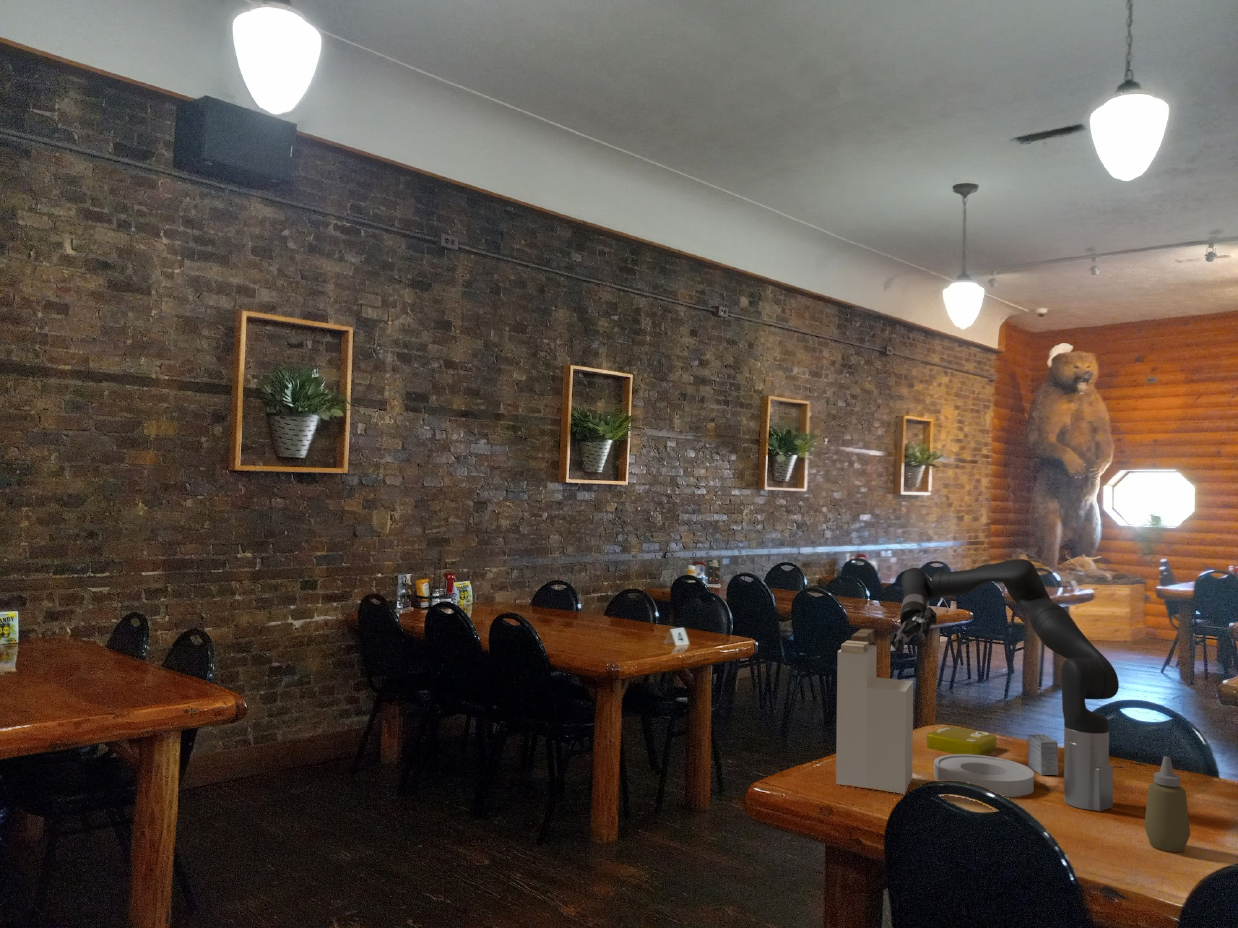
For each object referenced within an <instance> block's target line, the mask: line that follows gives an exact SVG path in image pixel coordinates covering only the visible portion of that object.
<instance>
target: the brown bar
mask: <svg viewBox="0 0 1238 928" xmlns="http://www.w3.org/2000/svg"><path fill="white" fill-rule="evenodd" d="M850 638H851V639H850V640H846V641H845V642H843V643H841V645H840V649H841V652H845V653H857V654H864V653H865V652H866V651H867V650H868V646H869V645H872V643H874V642H875V628H874V629H873V628H861V629H859V630H858V631H856V632H855V633H853V634H852V635H851V636H850Z"/></svg>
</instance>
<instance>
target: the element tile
mask: <svg viewBox="0 0 1238 928" xmlns="http://www.w3.org/2000/svg"><path fill="white" fill-rule="evenodd" d="M926 735H927V737H926V739H927V740H926V741H927V743H926V744H927V746H926V747H927V748H928V749H929V750H933V751H938V752H944V753H948V754H951V755H955V754H970V755H982V756H987V755H989V754H991V753H993V752H996V751H997V735H996V734H994V733H989V732H986V731H979V730H974V729H968V728H963V727H957V726H952V725H947V726H944V727H940V728H938V729H935V730H932V731H931V732H928V733H927V734H926Z"/></svg>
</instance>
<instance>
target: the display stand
mask: <svg viewBox="0 0 1238 928" xmlns="http://www.w3.org/2000/svg"><path fill="white" fill-rule="evenodd" d="M877 653H878V651H877V645H873V644H870V645H869V646H868V650H867V651H866V652H865V653H864V654H857V653H845V652H841V648H840V649H838V650H837V659H836V660H837V661H836V662H837V663H836V664H837V665H836V667H837V669H836V670H837V671H836V673H837V674H836V675H837V676H836V677H837V679H836V681H837V682H836V688H837V689H836V743H835V744H836V748H835V749H836V754H835V755H836V758H835V759H836V761H835V785H836V784H842V785H852V786H857V787H865V788H873V789H878V790H885V791H889V792H897V793H901V794H900V795H902V793H903V796H905V795H906V794H905V793H907V791H908V789H909V787H908V785H909V784H910V785H911V782H912V780H913V761H914V760H913V759H914V758H913V756H914V755H913V753H914V751H913V750H914V749H913V746H914V745H913V743H914V740H913V739H914V680H909V679H908V680H906V679H896V678H886V677H877V662H878V661H877ZM911 779H912V780H911ZM910 781H911V782H910ZM910 785H909V786H910ZM907 788H908V789H907Z"/></svg>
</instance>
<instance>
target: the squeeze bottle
mask: <svg viewBox="0 0 1238 928" xmlns="http://www.w3.org/2000/svg"><path fill="white" fill-rule="evenodd" d="M1172 764H1173V763H1172V760H1171V757H1170V756H1165V755H1164V756H1163V757H1162V763H1161V766H1160V769H1159V771H1157V772H1154V773H1153V782H1152V783H1150V784H1148V790H1147V791H1148V792H1147V798H1146V799H1147V800H1146V807H1145V816H1144V826H1143V827H1144V829H1145V830H1144V831H1145V832H1146V836H1147V838H1148V841H1149V844H1150V845H1151V847H1154V848H1155V849H1157V850H1161V851H1165V852H1170V853H1173V852H1174V853H1181V852H1184V851H1185V849H1186V846H1187V844H1188V842H1189V838H1190V837H1191V828H1190V827H1191V826H1190V820H1189V817H1190V816H1189V812H1188V811H1189V809H1188V801H1187V792H1186V790H1185V789H1184V788H1183V787H1181V777H1180V776H1179V775H1177V774H1175V773H1174V772H1175V771H1174V767H1173V765H1172Z"/></svg>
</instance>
